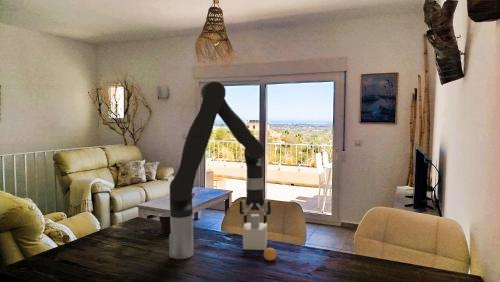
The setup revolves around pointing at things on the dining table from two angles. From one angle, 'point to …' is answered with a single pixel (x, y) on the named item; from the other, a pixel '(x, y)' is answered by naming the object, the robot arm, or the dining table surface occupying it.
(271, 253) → the ball
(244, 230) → the cream open-backed crate
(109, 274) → the dining table surface
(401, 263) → the dining table surface
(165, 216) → the coffee mug
